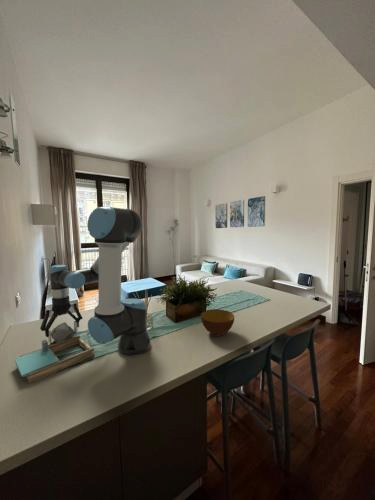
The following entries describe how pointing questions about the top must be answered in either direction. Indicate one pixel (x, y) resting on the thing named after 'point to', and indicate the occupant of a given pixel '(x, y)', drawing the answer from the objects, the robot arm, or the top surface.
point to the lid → (36, 360)
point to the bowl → (217, 321)
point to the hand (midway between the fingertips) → (63, 337)
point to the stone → (62, 332)
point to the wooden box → (62, 363)
